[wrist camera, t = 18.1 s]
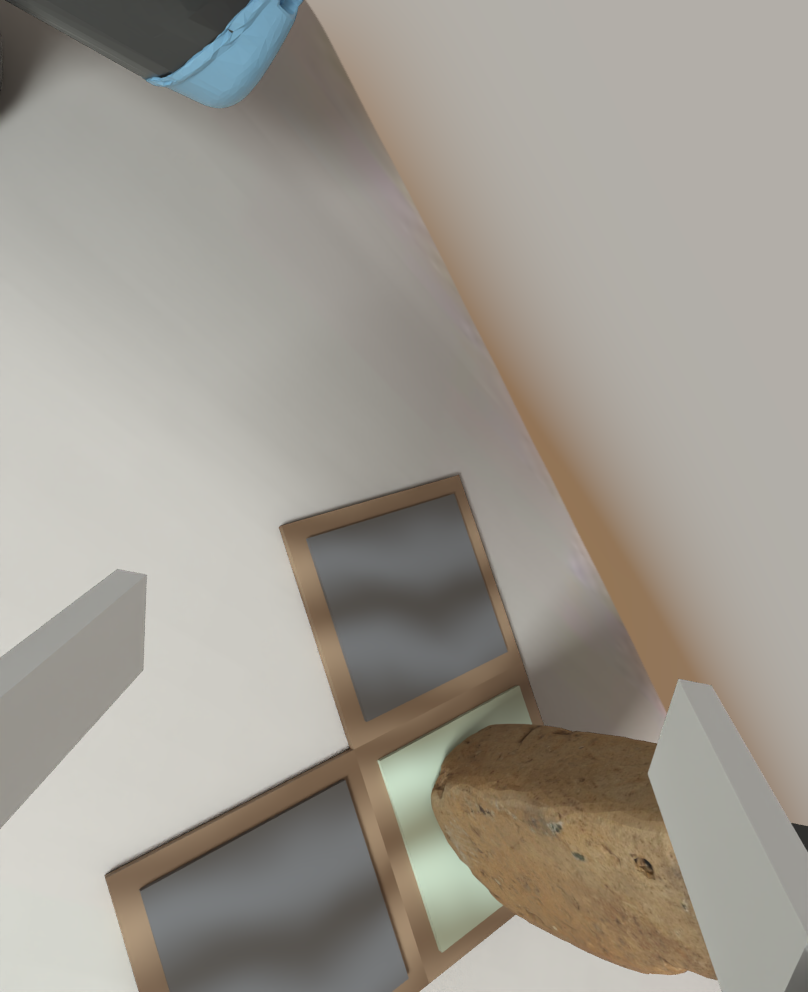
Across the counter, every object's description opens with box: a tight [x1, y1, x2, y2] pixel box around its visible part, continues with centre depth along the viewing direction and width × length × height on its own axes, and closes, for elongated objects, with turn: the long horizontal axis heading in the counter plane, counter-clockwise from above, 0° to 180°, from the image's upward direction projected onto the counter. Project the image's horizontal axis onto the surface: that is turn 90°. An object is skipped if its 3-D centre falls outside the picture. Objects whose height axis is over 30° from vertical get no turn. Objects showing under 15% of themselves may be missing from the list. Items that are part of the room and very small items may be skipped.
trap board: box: [105, 475, 544, 992], centre depth 42 cm, size 30×30×1 cm
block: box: [431, 724, 718, 980], centre depth 37 cm, size 11×8×20 cm
